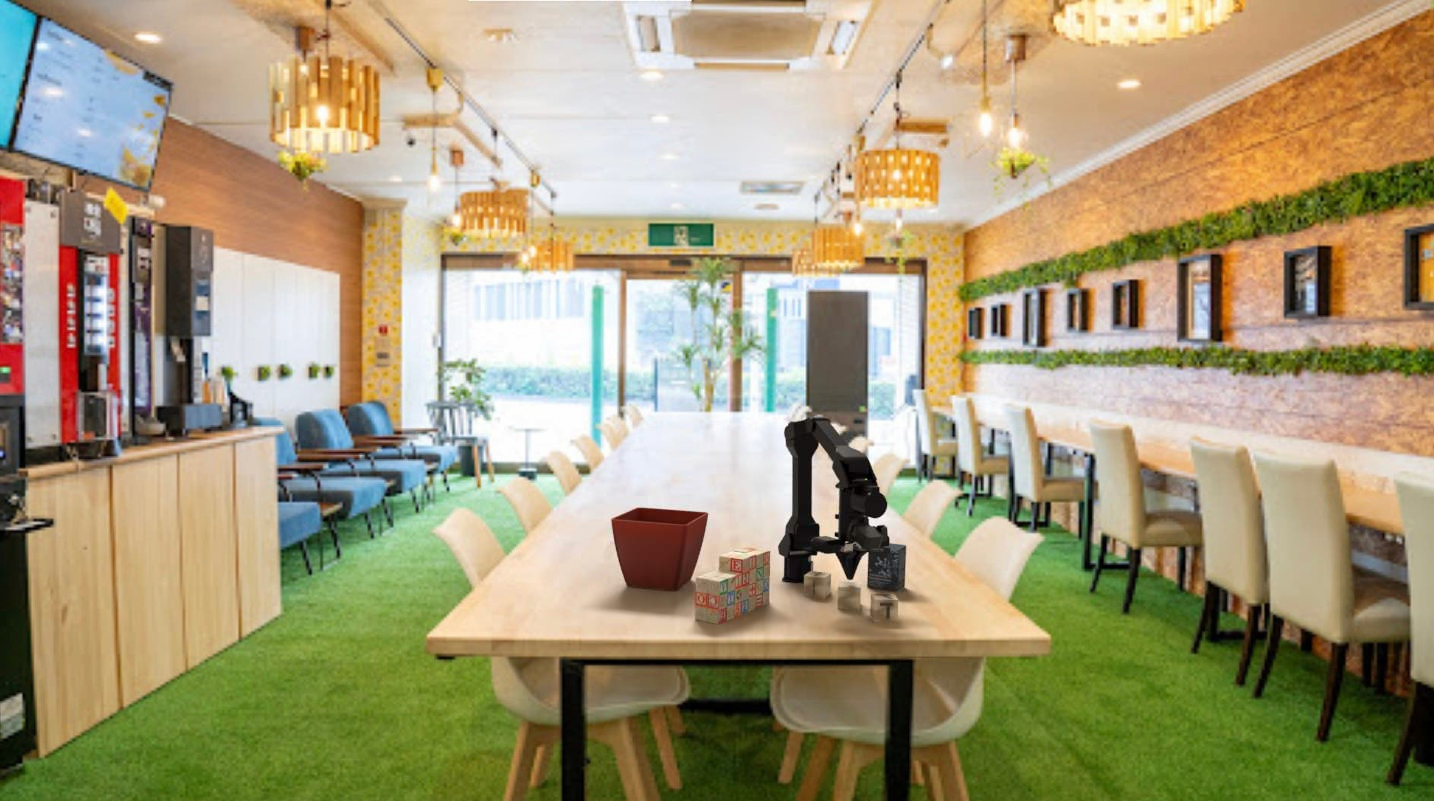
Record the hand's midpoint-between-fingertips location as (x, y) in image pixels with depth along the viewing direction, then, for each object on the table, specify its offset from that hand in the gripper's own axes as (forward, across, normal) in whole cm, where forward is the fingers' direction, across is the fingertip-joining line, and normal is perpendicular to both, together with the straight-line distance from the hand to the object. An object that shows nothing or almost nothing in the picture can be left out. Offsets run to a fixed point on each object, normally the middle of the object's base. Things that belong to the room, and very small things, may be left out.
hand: (849, 579), depth 214 cm
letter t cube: (+6, 0, -11) cm, 13 cm away
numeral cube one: (+6, 0, +12) cm, 13 cm away
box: (+6, +19, +8) cm, 22 cm away
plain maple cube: (+6, 0, 0) cm, 6 cm away
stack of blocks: (+6, -25, +10) cm, 28 cm away
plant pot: (+6, -27, +38) cm, 47 cm away
